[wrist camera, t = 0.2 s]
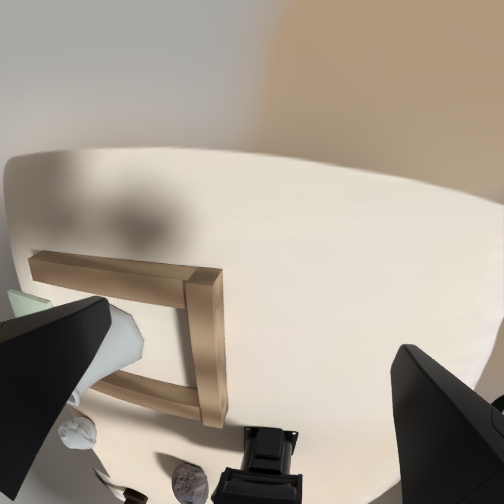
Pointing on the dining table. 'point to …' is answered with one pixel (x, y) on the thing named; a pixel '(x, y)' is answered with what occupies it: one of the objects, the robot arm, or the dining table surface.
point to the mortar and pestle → (134, 497)
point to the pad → (26, 303)
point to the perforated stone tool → (190, 484)
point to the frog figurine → (78, 433)
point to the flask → (112, 352)
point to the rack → (165, 294)
